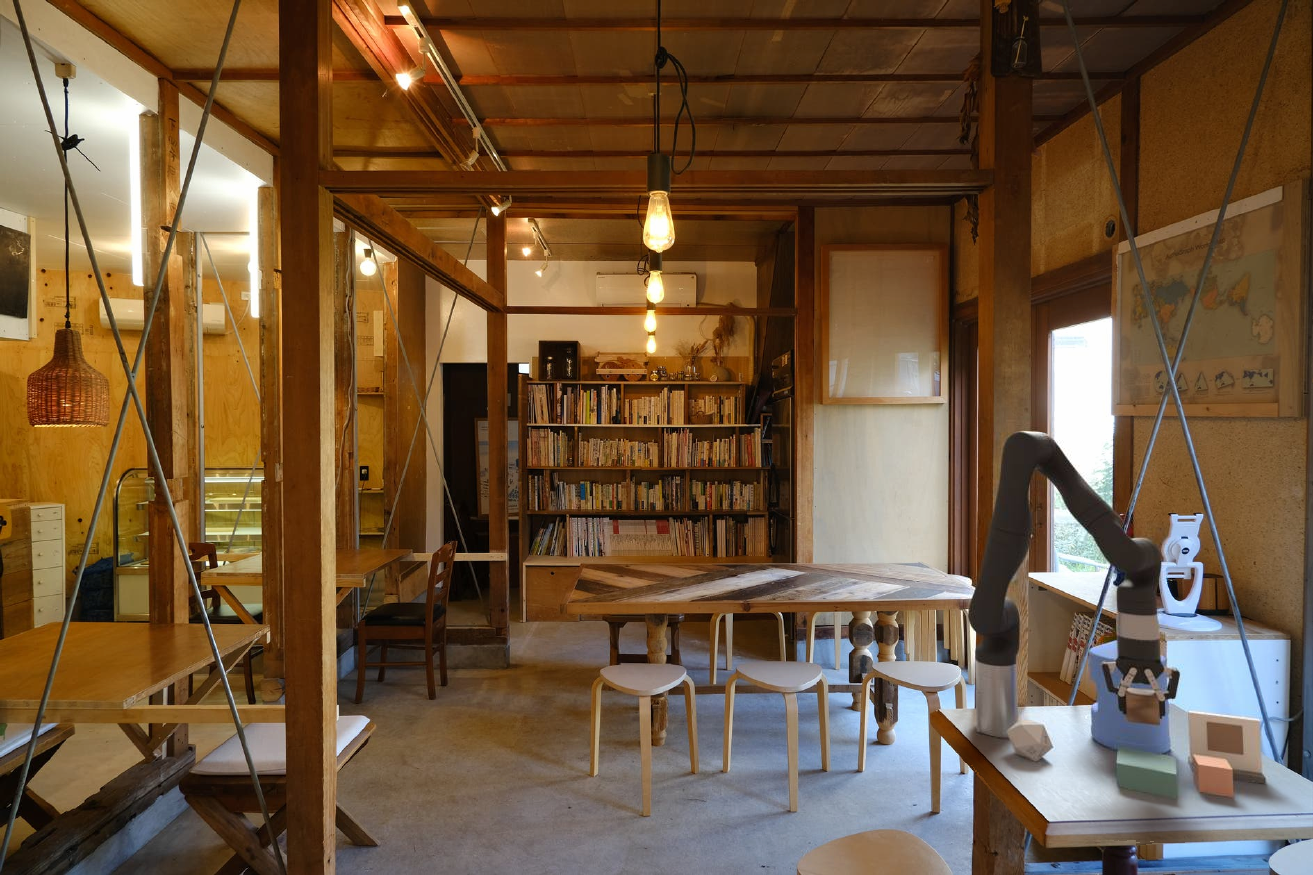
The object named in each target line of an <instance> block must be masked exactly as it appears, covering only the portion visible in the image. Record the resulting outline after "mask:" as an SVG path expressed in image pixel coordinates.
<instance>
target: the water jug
mask: <svg viewBox="0 0 1313 875" xmlns="http://www.w3.org/2000/svg"><path fill="white" fill-rule="evenodd" d="M1088 656H1089V657H1088V669H1089V678H1090V680H1091V681H1092V682H1094V683H1095V686H1096V688H1097V689H1096V691H1097V701H1096V702H1095V703H1093V704H1091V707H1090V715H1091V716H1090V717H1091V718H1090V719H1091V724H1090V733H1091V734H1090V735H1091V737H1092V738H1093V739H1094V740H1095V741H1096V742H1097V743H1099V744H1101V745H1102V746H1104V747H1107V748H1109V749H1113V750H1115V751H1118V746H1119V747H1124V748H1130V749H1135V750H1141V751H1146V752H1152V753H1157V754H1163V755H1164V754H1165V753H1167V752H1168V751H1170V749H1171V737H1170V720H1169V719H1170V718H1169V714H1170V704H1169V699H1167V700H1166V701H1165V712H1166V714H1165V716H1162V719H1160V725H1152V724H1144V723H1136V722H1128V721H1127V718H1126V715H1124V714H1123V713H1122V711H1120V710H1119V708H1118V695H1117V694H1115V693H1113V692H1112V693H1111V692H1109V691H1108V688H1107V685H1106V681H1105V677H1104V674H1103V670H1102V666H1101V662H1102V661H1105V662H1115V661H1116V659H1117V657H1118V652H1117V639H1116V640H1113V641H1110V642H1106V643H1103V644H1099V645H1096V646H1094V647H1091V648H1090V649H1089V651H1088ZM1161 663H1162V665H1163V666H1164V667H1168V665H1167V664H1168V663H1167V658H1166V657H1165V656H1163V655H1162V654H1161ZM1110 674H1111V678H1112V682H1113V685H1114V686H1116V687H1118V686H1119V684H1120V681H1121V678H1122V676H1123V674H1122V673H1121V672H1120V671H1119V669H1118V668H1117V667H1115V668H1114V672H1113V673H1110ZM1156 681H1157V683H1158V685H1159V687H1160V689H1161V691H1162V692H1164V691H1167V687H1168V678H1167V676H1166V673H1165V672H1163V673H1162V674H1161V675H1160V676H1159V677H1158V678H1157V679H1156ZM1129 688H1137V689H1147V690H1154V689H1153V688H1152V686H1151V684H1150V685H1146V684H1142V683H1132V682H1131V684H1130V686H1129Z"/></svg>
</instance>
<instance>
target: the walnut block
mask: <svg viewBox="0 0 1313 875" xmlns="http://www.w3.org/2000/svg"><path fill="white" fill-rule="evenodd" d="M1125 697H1126V712H1127V715H1126V718H1127V721H1128V722H1136V723H1144V724H1152V725H1160V716H1159V698H1158V696H1157V695H1156V693H1155V691H1154V690H1147V689H1137V688H1128V689H1127V691H1126V693H1125Z"/></svg>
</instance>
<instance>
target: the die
mask: <svg viewBox="0 0 1313 875" xmlns="http://www.w3.org/2000/svg"><path fill="white" fill-rule="evenodd" d="M1006 732H1007V734H1008V736H1009V738H1008V739H1009V741H1010V743H1011V745H1012V748H1013V750H1014V753H1015V754H1016V755H1018V756H1021V757H1024V758H1026V759H1028V760H1031V761H1033V762H1038V761H1039V760H1040V759H1042V757H1044V756H1046V754H1048V752H1050V751H1051V750H1052V749H1053V748H1054V746H1053V744H1052V741H1051V739H1050V736H1049V734H1048V731H1047V730H1046V727H1045V725H1044V724H1042V723H1041V722H1037V721H1034V720H1031V719H1029V718H1025V717H1022V718H1020V719H1018V722H1017V723H1016V724H1014V725H1013V726H1012V727H1011V728H1010V729H1008V730H1007V731H1006Z"/></svg>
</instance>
